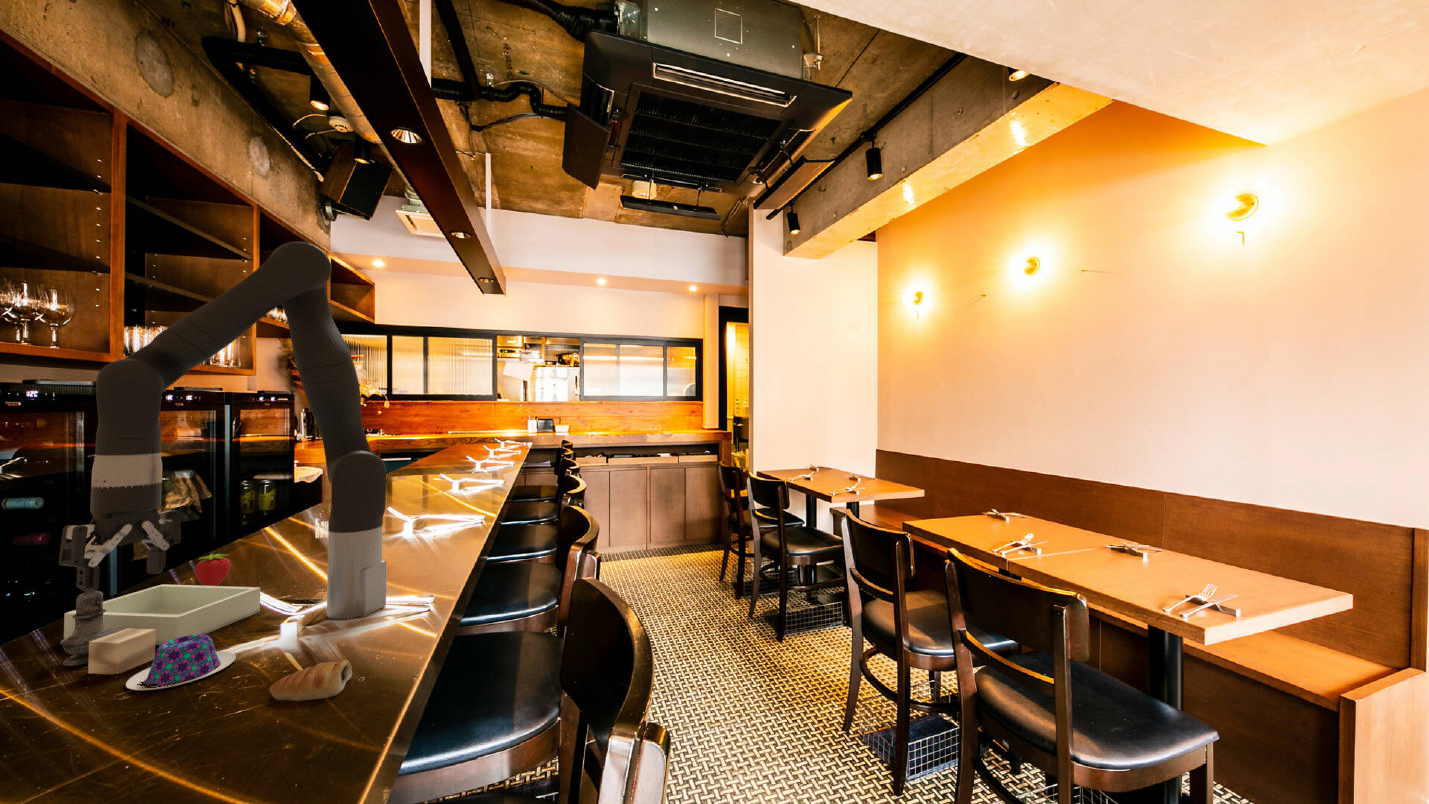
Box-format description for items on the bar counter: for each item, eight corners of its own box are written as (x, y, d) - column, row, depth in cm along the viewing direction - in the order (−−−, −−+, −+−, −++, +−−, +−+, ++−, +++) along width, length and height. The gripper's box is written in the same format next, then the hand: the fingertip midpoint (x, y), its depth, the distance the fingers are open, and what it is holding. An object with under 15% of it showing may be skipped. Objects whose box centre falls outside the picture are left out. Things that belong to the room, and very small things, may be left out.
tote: (259, 611, 103) (260, 587, 103) (177, 645, 88) (177, 617, 88) (161, 608, 105) (162, 584, 105) (63, 641, 90) (64, 613, 90)
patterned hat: (155, 664, 83) (156, 632, 83) (249, 650, 88) (249, 620, 88) (103, 702, 72) (104, 665, 72) (214, 684, 77) (214, 650, 77)
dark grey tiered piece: (75, 668, 81) (77, 593, 81) (49, 664, 82) (51, 590, 82) (124, 651, 86) (126, 581, 87) (99, 647, 87) (101, 578, 88)
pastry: (259, 710, 70) (260, 682, 70) (282, 685, 76) (283, 660, 76) (339, 698, 73) (340, 671, 73) (355, 675, 79) (356, 650, 80)
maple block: (154, 659, 84) (155, 629, 84) (117, 675, 79) (118, 643, 79) (127, 658, 84) (128, 628, 84) (88, 673, 79) (89, 641, 79)
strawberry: (229, 584, 119) (230, 542, 120) (231, 592, 114) (232, 548, 114) (194, 590, 115) (195, 546, 115) (193, 599, 110) (194, 553, 110)
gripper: (91, 488, 75) (87, 598, 74) (196, 476, 89) (193, 568, 88) (46, 487, 75) (41, 596, 75) (158, 475, 89) (154, 567, 89)
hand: (123, 581), depth 82 cm, fingers open, 8 cm apart
